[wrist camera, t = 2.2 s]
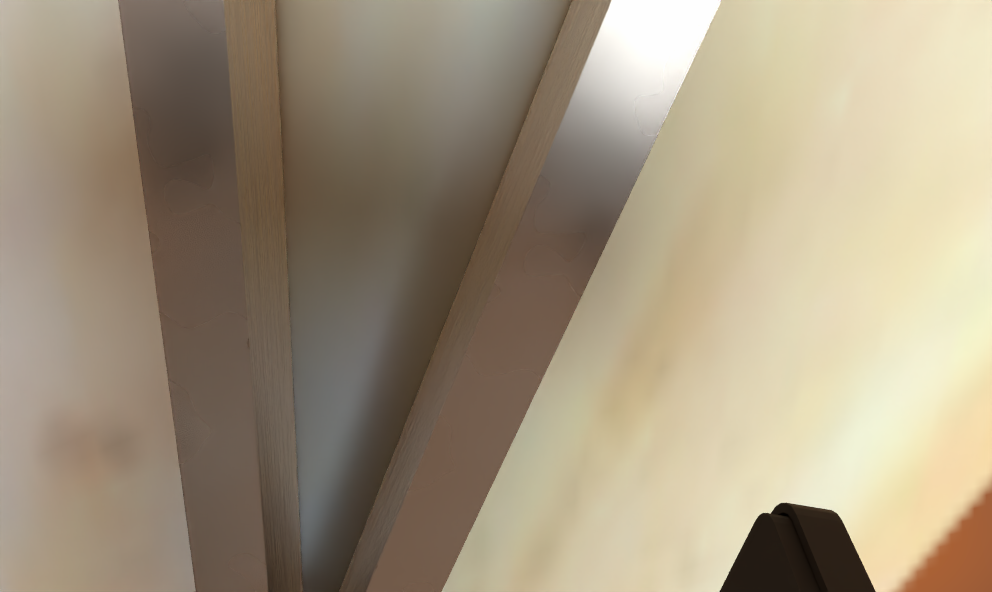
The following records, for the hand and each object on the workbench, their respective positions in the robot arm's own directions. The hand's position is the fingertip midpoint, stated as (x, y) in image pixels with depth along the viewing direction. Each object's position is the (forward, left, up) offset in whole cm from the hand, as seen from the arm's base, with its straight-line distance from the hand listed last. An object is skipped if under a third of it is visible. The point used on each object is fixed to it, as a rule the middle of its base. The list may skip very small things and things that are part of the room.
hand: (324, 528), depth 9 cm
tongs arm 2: (-2, +3, -8) cm, 9 cm away
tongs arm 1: (-2, -2, -8) cm, 9 cm away
